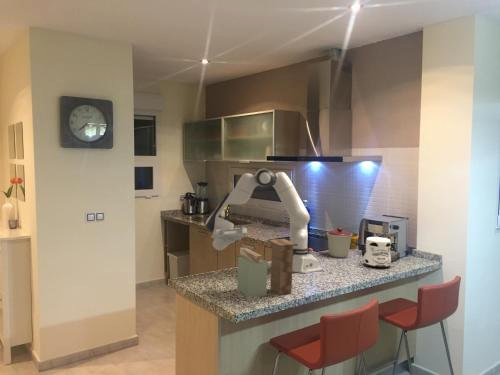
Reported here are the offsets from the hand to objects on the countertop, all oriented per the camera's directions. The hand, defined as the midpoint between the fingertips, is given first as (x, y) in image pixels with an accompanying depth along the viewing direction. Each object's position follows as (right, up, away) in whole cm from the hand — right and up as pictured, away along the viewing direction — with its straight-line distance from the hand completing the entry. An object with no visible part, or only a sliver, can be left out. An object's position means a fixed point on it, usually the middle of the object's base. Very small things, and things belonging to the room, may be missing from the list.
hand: (234, 228), depth 237 cm
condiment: (+89, -25, +94) cm, 132 cm away
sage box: (+9, -31, -20) cm, 38 cm away
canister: (+73, -27, +67) cm, 102 cm away
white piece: (+93, -29, +42) cm, 106 cm away
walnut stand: (+25, -31, -17) cm, 43 cm away
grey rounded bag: (+106, -28, +62) cm, 126 cm away
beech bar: (+9, -14, -19) cm, 25 cm away
